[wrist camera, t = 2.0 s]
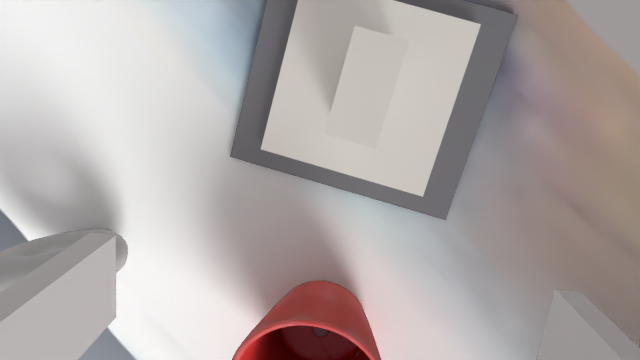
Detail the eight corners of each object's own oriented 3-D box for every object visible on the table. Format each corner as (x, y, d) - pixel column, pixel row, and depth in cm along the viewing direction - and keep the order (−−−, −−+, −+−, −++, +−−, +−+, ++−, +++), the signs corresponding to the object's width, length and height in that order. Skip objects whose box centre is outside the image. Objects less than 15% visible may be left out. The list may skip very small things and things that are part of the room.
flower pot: (321, 400, 41) (308, 493, 31) (235, 316, 40) (195, 385, 30) (409, 328, 38) (424, 405, 29) (320, 238, 38) (305, 287, 28)
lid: (476, 26, 33) (525, -3, 23) (420, 193, 36) (442, 232, 26) (306, -21, 33) (281, -69, 23) (263, 147, 36) (225, 168, 26)
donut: (146, 218, 39) (72, 260, 29) (153, 255, 40) (84, 309, 30) (40, 228, 40) (-65, 272, 30) (49, 265, 41) (-51, 319, 31)
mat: (515, 16, 33) (517, 14, 32) (444, 217, 36) (445, 219, 36) (280, -48, 34) (279, -51, 33) (232, 155, 37) (230, 156, 36)
